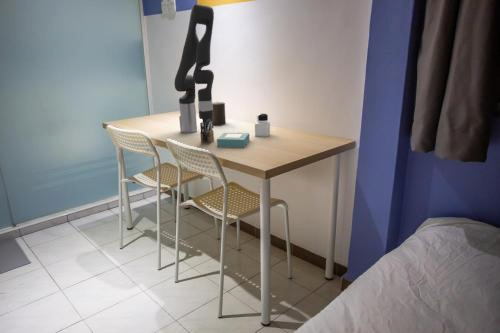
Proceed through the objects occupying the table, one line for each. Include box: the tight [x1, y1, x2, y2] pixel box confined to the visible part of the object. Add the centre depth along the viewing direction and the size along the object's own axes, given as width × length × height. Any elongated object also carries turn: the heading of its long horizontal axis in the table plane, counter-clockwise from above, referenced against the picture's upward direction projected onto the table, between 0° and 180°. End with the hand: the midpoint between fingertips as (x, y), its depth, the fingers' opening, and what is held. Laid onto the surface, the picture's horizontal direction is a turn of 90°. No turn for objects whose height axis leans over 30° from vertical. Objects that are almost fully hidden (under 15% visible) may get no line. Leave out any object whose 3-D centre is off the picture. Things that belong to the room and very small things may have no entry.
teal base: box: [216, 132, 250, 148], centre depth 195 cm, size 14×14×4 cm
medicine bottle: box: [254, 113, 271, 138], centre depth 210 cm, size 7×7×12 cm
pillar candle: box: [212, 101, 227, 126], centre depth 242 cm, size 10×10×15 cm
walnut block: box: [199, 129, 215, 144], centre depth 199 cm, size 6×6×6 cm
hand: (207, 139), depth 200 cm, fingers open, 8 cm apart
